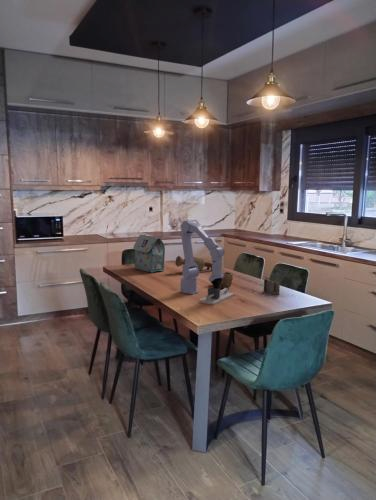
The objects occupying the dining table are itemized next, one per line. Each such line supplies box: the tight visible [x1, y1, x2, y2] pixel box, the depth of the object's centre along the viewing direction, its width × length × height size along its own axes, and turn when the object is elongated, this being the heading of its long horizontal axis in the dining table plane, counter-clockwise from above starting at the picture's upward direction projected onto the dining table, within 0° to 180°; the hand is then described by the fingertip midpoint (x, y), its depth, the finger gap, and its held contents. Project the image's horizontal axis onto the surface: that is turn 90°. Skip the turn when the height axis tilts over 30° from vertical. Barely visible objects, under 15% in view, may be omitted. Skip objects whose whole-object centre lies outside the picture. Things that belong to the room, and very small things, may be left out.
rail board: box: [198, 288, 235, 306], centre depth 231 cm, size 24×10×4 cm, turn 146°
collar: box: [207, 287, 221, 299], centre depth 227 cm, size 3×6×5 cm, turn 56°
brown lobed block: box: [209, 271, 234, 289], centre depth 257 cm, size 9×16×10 cm, turn 33°
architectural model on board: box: [263, 276, 281, 296], centre depth 245 cm, size 11×3×10 cm, turn 29°
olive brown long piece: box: [175, 255, 212, 272], centre depth 301 cm, size 10×12×30 cm
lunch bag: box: [133, 234, 166, 273], centre depth 303 cm, size 23×16×27 cm
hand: (216, 291), depth 229 cm, fingers closed
